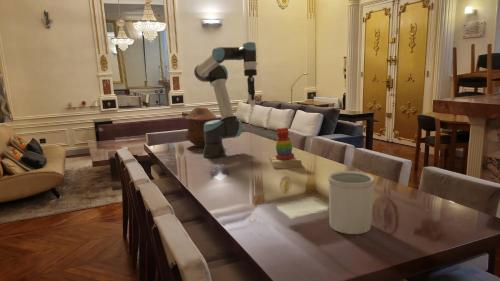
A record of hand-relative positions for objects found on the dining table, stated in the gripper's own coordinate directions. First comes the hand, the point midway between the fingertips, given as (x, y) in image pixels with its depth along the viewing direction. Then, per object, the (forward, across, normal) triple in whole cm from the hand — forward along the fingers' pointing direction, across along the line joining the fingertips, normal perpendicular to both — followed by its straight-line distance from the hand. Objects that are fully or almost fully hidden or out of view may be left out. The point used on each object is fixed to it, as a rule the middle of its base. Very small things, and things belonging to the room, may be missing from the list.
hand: (251, 104), depth 218 cm
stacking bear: (+31, -15, -17) cm, 38 cm away
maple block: (+35, -15, -17) cm, 42 cm away
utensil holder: (+34, -105, -23) cm, 113 cm away
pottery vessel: (+35, +57, +35) cm, 75 cm away
